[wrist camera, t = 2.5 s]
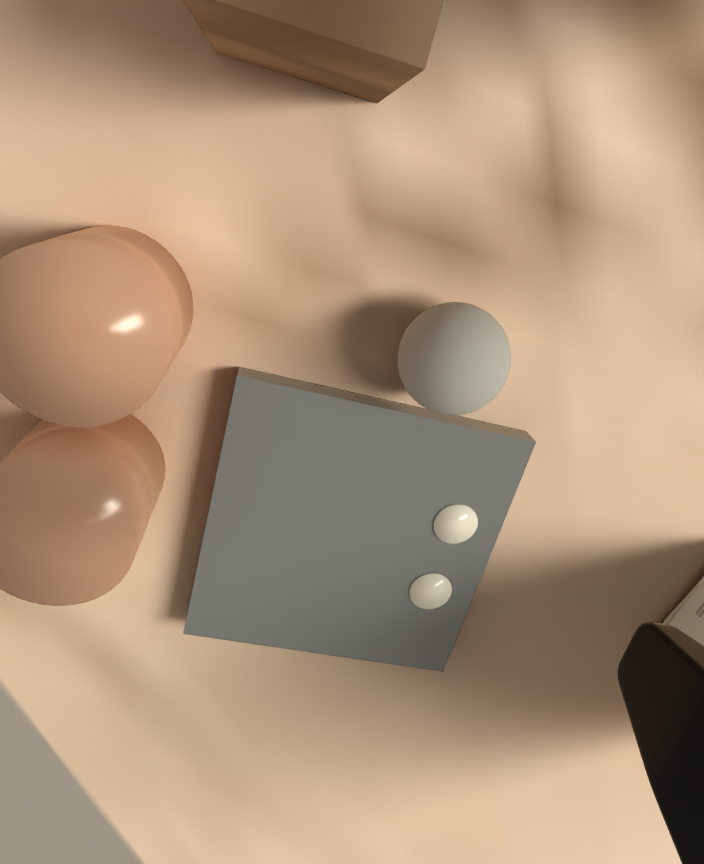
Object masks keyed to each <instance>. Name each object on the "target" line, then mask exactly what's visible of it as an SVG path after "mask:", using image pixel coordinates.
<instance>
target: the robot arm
mask: <svg viewBox="0 0 704 864" xmlns="http://www.w3.org/2000/svg"><path fill="white" fill-rule="evenodd" d="M618 681H619V685H620V688H621V691H622V695H623V698H624V701H625V705H626V708H627V711H628V714H629V718H630V721H631V724H632V727H633V731H634V734H635V737H636V740H637V744H638V747H639V750H640V753H641V757H642V760H643V763H644V767H645V770H646V773H647V776H648V779H649V782H650V785H651V787H652V790H653V793H654V795H655V798H656V801H657V803H658V806H659V808H660V811H661V813H662V815H663V818H664V820H665V823H666V825H667V828H668V830H669V833H670V835H671V838H672V840H673V842H674V845H675V847H676V850H677V852H678V855H679V857H680V860H681V862H682V864H704V646H703V645H702V644H700V643H699V642H697V641H696V640H694V639H693V638H691V637H690V636H688V635H687V634H685V633H684V632H682V631H681V630H679V629H677V628H676V627H674V626H671V625H668V624H661V623H654V622H645V623H643V624H641V625H640V626H639V627H638V628H637V630H636V632H635V634H634V636H633V638H632V640H631V642H630V643H629V645H628V647H627V649H626V651H625V653H624V655H623V657H622V659H621V661H620V663H619V667H618Z"/></svg>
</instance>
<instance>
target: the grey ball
mask: <svg viewBox="0 0 704 864" xmlns="http://www.w3.org/2000/svg"><path fill="white" fill-rule="evenodd" d="M397 363H398V371H399V375H400V378H401V381H402V383H403V385H404V387H405V389H406V390H407V392H408V393H409V394H410V396H411V397H412V398H413V399H414V400H415V401H416V402H418V403H419V404H420V405H422V406H423V407H425V408H427V409H428V410H431V411H433V412H436V413H439V414H445V415H462V414H467V413H470V412H473V411H476V410H478V409H480V408H482V407H483V406H485V405H486V404H488V403H489V402H490V401H492V400H493V399H494V398H495V397H496V396H497V394H498V393H499V392H500V390H501V389H502V387H503V386H504V384H505V382H506V380H507V377H508V374H509V371H510V365H511V350H510V345H509V341H508V339H507V336H506V334H505V332H504V330H503V328H502V326H501V325H500V324H499V323H498V321H497V320H496V319H495V318H494V317H493V316H492V315H490V314H489V313H488V312H486V311H485V310H483V309H481V308H479V307H477V306H474V305H471V304H467V303H460V302H451V303H443V304H439V305H436V306H433V307H431V308H429V309H427V310H425V311H424V312H422V313H421V314H420V315H418V316H417V317H416V318H415V319H414V320H413V321H412V322H411V323H410V325H409V326H408V327H407V329H406V330H405V332H404V334H403V336H402V339H401V341H400V344H399V349H398V357H397Z"/></svg>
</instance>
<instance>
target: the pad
mask: <svg viewBox="0 0 704 864" xmlns="http://www.w3.org/2000/svg"><path fill="white" fill-rule="evenodd" d="M535 443H536V442H535V440H534V439H533V438H532V437H531V436H530V435H529V434H528V433H527V432H526V431H522V430H517V429H513V428H508V427H504V426H499V425H495V424H490V423H486V422H482V421H477V420H473V419H468V418H464V417H459V416H455V415H445V414H439V413H436V412H433V411H431V410H428V409H424V408H419V407H415V406H410V405H406V404H402V403H397V402H393V401H388V400H384V399H379V398H375V397H370V396H366V395H361V394H357V393H353V392H348V391H344V390H339V389H335V388H330V387H326V386H321V385H317V384H313V383H308V382H304V381H299V380H295V379H290V378H286V377H281V376H277V375H273V374H268V373H264V372H259V371H255V370H250V369H246V368H241V367H239V369H238V373H237V377H236V382H235V387H234V392H233V397H232V401H231V406H230V411H229V416H228V421H227V426H226V430H225V435H224V440H223V445H222V450H221V455H220V459H219V464H218V469H217V474H216V479H215V483H214V488H213V493H212V498H211V503H210V508H209V512H208V517H207V522H206V527H205V532H204V537H203V541H202V546H201V551H200V556H199V561H198V566H197V570H196V575H195V580H194V585H193V590H192V594H191V599H190V604H189V609H188V614H187V619H186V623H185V628H184V633H183V634H188V635H195V636H202V637H209V638H216V639H223V640H230V641H237V642H243V643H250V644H257V645H264V646H271V647H278V648H285V649H292V650H298V651H305V652H312V653H319V654H326V655H333V656H340V657H347V658H353V659H360V660H367V661H374V662H381V663H388V664H395V665H402V666H408V667H415V668H422V669H429V670H436V671H443V670H444V668H445V665H446V663H447V660H448V658H449V656H450V653H451V651H452V648H453V646H454V643H455V641H456V638H457V636H458V633H459V631H460V628H461V626H462V623H463V621H464V618H465V616H466V613H467V611H468V609H469V606H470V604H471V601H472V599H473V596H474V594H475V591H476V589H477V586H478V584H479V581H480V579H481V576H482V574H483V571H484V569H485V567H486V564H487V562H488V559H489V557H490V554H491V552H492V549H493V547H494V544H495V542H496V539H497V537H498V534H499V532H500V529H501V527H502V525H503V522H504V520H505V517H506V515H507V512H508V510H509V507H510V505H511V502H512V500H513V497H514V495H515V492H516V490H517V487H518V485H519V483H520V480H521V478H522V475H523V473H524V470H525V468H526V465H527V463H528V460H529V458H530V455H531V453H532V450H533V448H534V445H535Z"/></svg>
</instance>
